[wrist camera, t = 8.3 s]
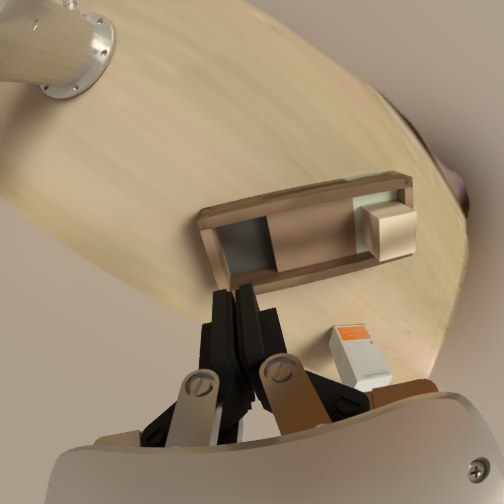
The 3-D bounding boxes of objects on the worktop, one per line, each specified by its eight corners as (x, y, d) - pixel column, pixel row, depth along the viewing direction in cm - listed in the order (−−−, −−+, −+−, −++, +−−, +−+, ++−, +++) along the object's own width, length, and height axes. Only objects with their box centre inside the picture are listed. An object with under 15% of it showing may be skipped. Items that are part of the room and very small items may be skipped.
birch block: (359, 205, 30) (379, 219, 25) (394, 199, 30) (416, 211, 25) (362, 243, 32) (379, 261, 28) (395, 236, 32) (415, 252, 27)
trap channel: (201, 208, 32) (196, 220, 28) (393, 170, 31) (412, 177, 27) (224, 282, 36) (222, 301, 32) (395, 242, 35) (412, 255, 31)
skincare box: (365, 322, 41) (395, 375, 30) (358, 341, 43) (383, 393, 32) (332, 324, 41) (356, 381, 30) (326, 344, 42) (347, 400, 31)
